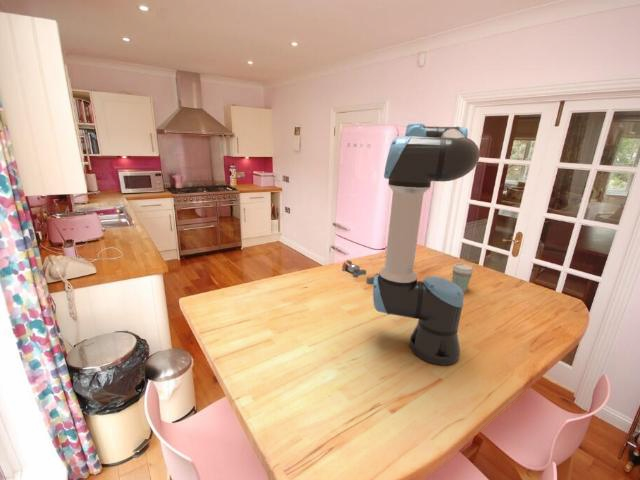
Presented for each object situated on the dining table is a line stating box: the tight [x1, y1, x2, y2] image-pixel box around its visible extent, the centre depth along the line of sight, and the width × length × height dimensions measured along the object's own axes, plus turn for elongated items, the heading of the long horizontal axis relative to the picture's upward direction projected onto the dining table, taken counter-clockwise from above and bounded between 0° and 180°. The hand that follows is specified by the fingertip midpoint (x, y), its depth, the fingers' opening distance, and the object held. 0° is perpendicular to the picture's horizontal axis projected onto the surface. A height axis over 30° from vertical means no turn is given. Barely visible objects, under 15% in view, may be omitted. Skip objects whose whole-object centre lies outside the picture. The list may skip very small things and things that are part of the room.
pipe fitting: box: [341, 259, 379, 285], centre depth 143 cm, size 8×26×6 cm, turn 42°
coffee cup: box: [451, 263, 474, 294], centre depth 135 cm, size 8×8×12 cm
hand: (405, 210), depth 134 cm, fingers open, 13 cm apart
